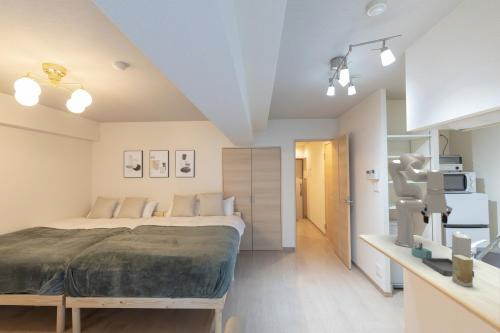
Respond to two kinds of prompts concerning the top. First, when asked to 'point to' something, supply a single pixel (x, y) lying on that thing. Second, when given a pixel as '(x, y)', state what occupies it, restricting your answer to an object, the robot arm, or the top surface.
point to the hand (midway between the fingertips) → (435, 223)
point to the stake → (420, 246)
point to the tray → (440, 265)
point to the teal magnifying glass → (421, 252)
